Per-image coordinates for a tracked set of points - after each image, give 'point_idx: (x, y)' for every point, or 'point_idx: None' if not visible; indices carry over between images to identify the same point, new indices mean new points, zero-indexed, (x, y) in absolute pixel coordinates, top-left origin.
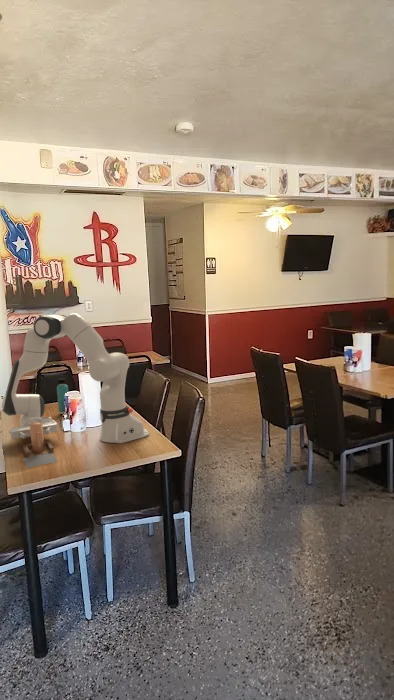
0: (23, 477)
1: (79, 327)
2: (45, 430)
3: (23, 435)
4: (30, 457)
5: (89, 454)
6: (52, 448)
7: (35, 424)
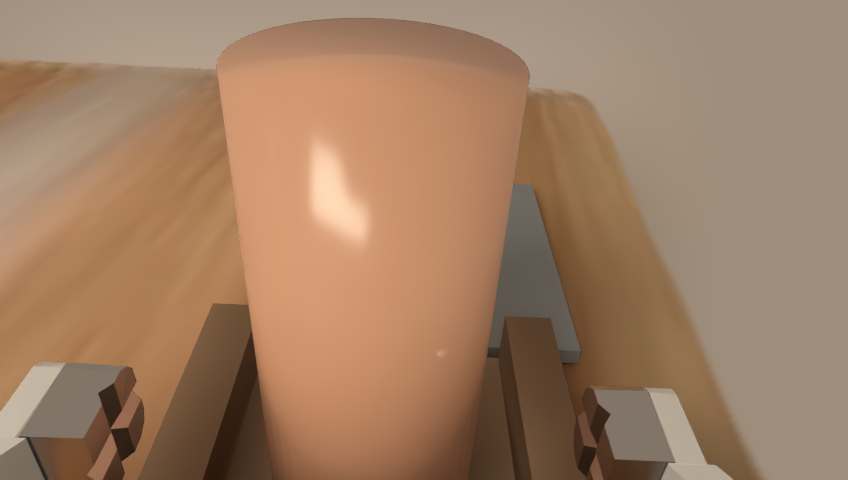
0: (544, 134)
1: None
2: (102, 411)
3: (658, 391)
4: (498, 330)
5: (5, 193)
6: (226, 312)
7: (399, 39)
